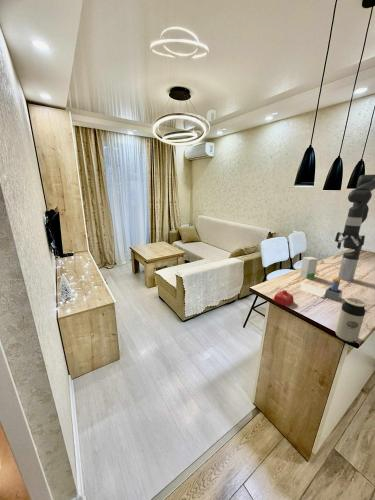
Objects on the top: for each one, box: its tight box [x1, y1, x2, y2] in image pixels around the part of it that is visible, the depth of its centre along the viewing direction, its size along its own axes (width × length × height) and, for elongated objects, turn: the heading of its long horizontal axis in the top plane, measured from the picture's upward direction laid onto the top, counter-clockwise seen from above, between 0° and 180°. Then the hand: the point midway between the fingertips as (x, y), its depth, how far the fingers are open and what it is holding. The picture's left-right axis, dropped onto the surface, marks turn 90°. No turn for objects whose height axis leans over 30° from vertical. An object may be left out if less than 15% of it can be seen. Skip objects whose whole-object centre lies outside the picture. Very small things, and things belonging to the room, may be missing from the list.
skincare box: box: [299, 256, 319, 279], centre depth 158 cm, size 8×7×16 cm
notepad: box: [299, 281, 327, 300], centre depth 138 cm, size 14×18×1 cm
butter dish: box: [273, 289, 294, 307], centre depth 121 cm, size 12×12×8 cm
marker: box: [330, 276, 341, 293], centre depth 127 cm, size 4×4×13 cm
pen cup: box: [325, 286, 343, 302], centre depth 129 cm, size 7×7×5 cm
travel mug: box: [335, 296, 367, 343], centre depth 92 cm, size 8×8×18 cm
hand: (347, 250), depth 131 cm, fingers open, 8 cm apart
